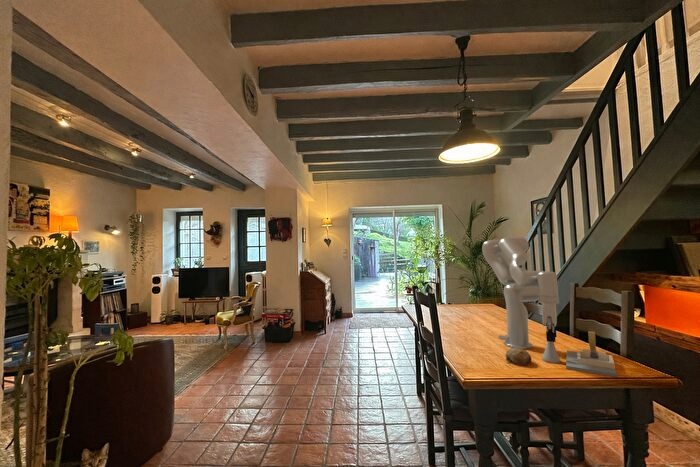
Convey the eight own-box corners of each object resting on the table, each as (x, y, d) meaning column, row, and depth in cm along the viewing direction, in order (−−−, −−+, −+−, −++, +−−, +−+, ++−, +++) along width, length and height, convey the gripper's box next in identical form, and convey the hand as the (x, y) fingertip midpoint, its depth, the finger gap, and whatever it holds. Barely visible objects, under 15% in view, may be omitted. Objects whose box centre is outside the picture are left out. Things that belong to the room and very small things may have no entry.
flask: (564, 364, 135) (563, 340, 136) (545, 363, 137) (544, 339, 137) (557, 358, 142) (555, 335, 143) (539, 357, 144) (538, 335, 145)
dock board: (566, 368, 130) (565, 359, 130) (567, 352, 150) (566, 344, 150) (617, 377, 121) (616, 366, 121) (610, 358, 141) (610, 350, 141)
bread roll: (504, 368, 142) (497, 352, 141) (518, 355, 146) (512, 339, 145) (524, 375, 133) (517, 359, 132) (538, 361, 137) (532, 345, 136)
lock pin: (590, 356, 139) (589, 338, 140) (589, 348, 151) (588, 331, 152) (597, 357, 138) (596, 339, 138) (595, 349, 150) (594, 331, 150)
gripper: (540, 297, 150) (543, 334, 149) (537, 301, 136) (540, 342, 134) (559, 298, 146) (562, 336, 144) (558, 302, 132) (561, 344, 130)
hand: (551, 339), depth 139 cm, fingers open, 9 cm apart
